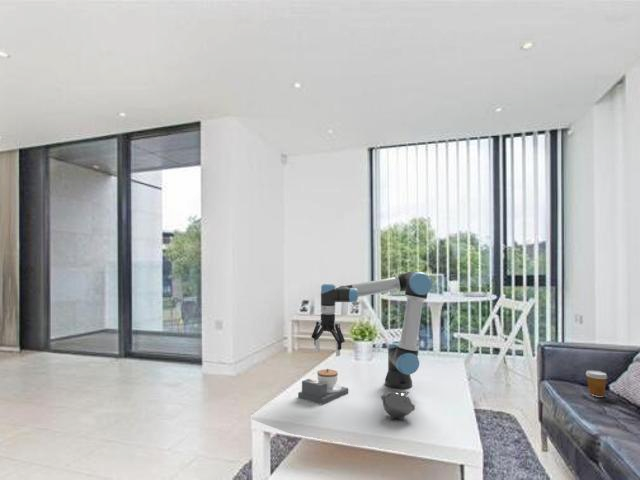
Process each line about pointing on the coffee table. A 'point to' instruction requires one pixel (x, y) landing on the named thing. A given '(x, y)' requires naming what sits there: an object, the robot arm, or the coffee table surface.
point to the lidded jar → (328, 377)
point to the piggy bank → (397, 404)
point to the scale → (320, 391)
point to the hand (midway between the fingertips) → (327, 353)
